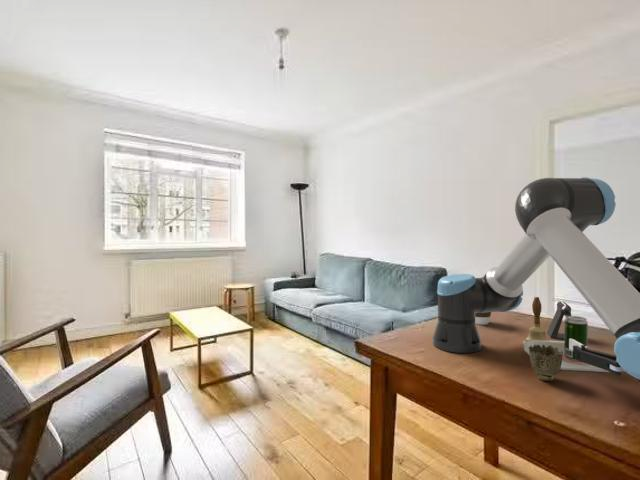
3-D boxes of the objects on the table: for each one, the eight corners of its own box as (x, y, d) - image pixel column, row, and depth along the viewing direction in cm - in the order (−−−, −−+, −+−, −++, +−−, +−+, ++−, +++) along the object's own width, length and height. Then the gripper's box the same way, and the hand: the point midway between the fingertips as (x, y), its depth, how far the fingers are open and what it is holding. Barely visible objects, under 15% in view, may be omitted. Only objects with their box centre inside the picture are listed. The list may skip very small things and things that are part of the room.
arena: (543, 368, 96) (543, 356, 96) (524, 350, 110) (524, 339, 109) (609, 372, 93) (609, 359, 92) (581, 353, 106) (581, 341, 106)
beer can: (579, 364, 96) (580, 321, 96) (560, 357, 101) (560, 317, 101) (591, 360, 98) (592, 319, 98) (571, 354, 103) (572, 314, 103)
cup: (523, 373, 93) (522, 344, 93) (551, 373, 93) (551, 343, 93) (539, 385, 86) (538, 354, 86) (569, 385, 85) (569, 353, 85)
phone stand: (576, 335, 122) (577, 302, 122) (581, 341, 117) (581, 306, 117) (546, 333, 126) (546, 300, 126) (550, 338, 121) (550, 304, 120)
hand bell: (521, 346, 113) (521, 298, 113) (524, 339, 120) (524, 293, 119) (551, 351, 108) (551, 301, 108) (553, 343, 115) (553, 296, 114)
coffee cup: (480, 328, 134) (480, 297, 134) (459, 321, 144) (459, 292, 144) (501, 324, 138) (501, 294, 138) (479, 317, 148) (479, 290, 148)
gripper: (602, 396, 71) (547, 357, 92) (741, 401, 68) (651, 359, 89) (603, 360, 70) (547, 329, 91) (742, 363, 67) (651, 330, 88)
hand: (598, 344), depth 90 cm, fingers open, 13 cm apart
